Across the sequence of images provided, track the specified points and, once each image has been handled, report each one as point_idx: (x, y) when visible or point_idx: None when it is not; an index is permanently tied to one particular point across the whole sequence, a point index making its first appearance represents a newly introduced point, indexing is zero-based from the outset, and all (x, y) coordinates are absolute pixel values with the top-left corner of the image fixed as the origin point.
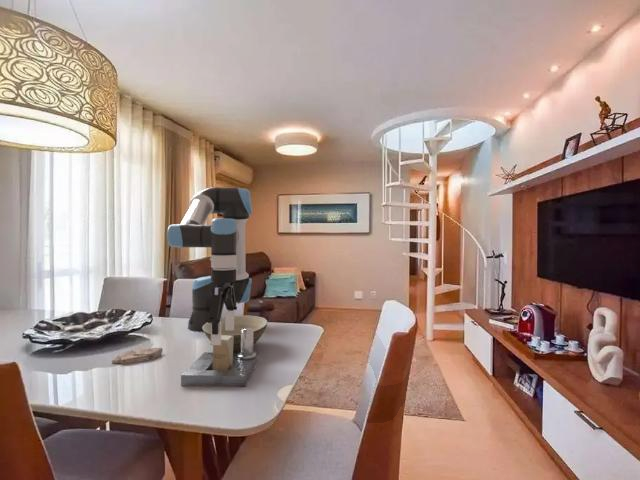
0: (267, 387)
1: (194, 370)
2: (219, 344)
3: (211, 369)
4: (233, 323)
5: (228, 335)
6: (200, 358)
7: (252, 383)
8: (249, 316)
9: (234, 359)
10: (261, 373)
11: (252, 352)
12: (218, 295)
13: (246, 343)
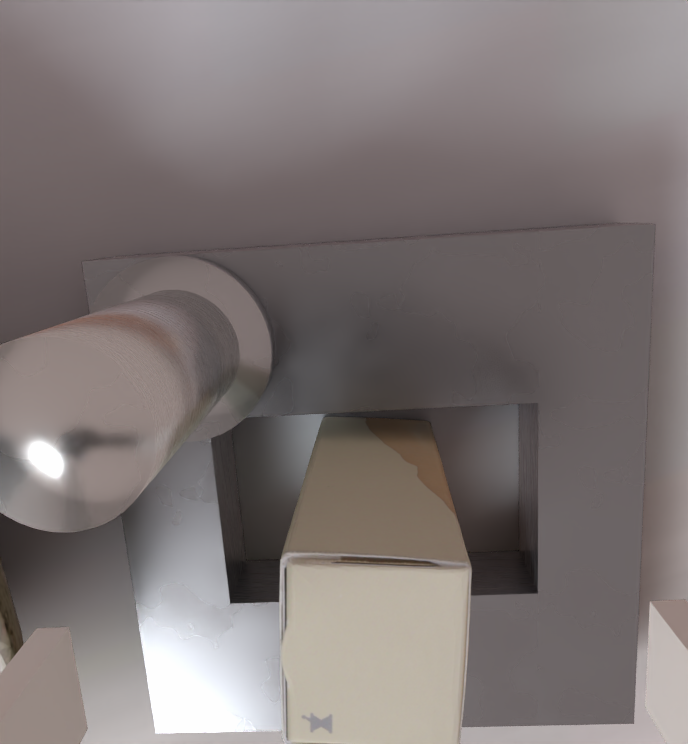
0: (628, 24)
1: (543, 667)
2: (686, 614)
3: None
4: (13, 703)
5: (7, 654)
6: None
7: (555, 178)
8: None
9: (219, 449)
10: (355, 154)
11: (180, 293)
12: None
13: (204, 370)
